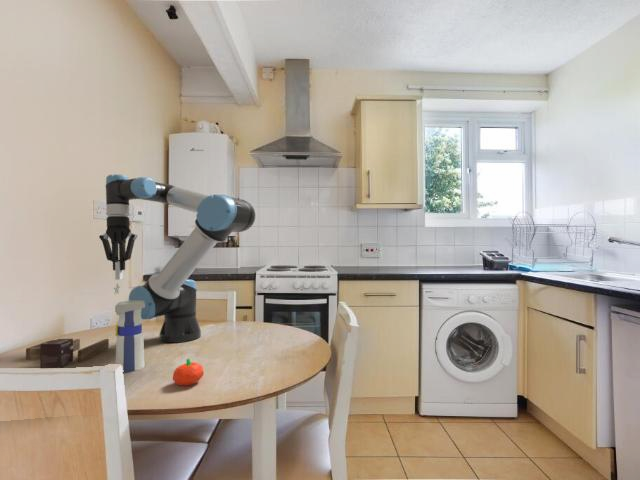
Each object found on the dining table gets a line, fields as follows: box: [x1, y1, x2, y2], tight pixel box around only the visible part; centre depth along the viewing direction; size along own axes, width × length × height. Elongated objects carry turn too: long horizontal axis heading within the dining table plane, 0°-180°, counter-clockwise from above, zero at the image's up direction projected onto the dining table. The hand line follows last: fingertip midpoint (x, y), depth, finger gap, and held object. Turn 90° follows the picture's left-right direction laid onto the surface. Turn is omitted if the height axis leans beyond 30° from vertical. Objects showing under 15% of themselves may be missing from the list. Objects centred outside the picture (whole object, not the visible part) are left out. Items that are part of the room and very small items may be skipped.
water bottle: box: [113, 282, 145, 373], centre depth 105 cm, size 8×9×25 cm
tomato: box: [172, 358, 204, 386], centre depth 93 cm, size 7×8×6 cm
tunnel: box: [25, 338, 110, 363], centre depth 118 cm, size 20×14×4 cm
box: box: [39, 338, 74, 369], centre depth 108 cm, size 6×6×7 cm
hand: (119, 279), depth 133 cm, fingers closed
